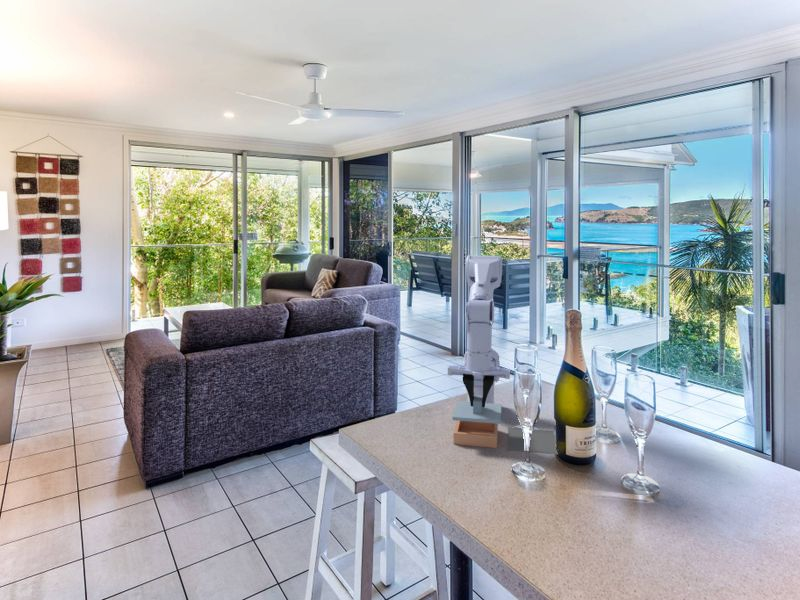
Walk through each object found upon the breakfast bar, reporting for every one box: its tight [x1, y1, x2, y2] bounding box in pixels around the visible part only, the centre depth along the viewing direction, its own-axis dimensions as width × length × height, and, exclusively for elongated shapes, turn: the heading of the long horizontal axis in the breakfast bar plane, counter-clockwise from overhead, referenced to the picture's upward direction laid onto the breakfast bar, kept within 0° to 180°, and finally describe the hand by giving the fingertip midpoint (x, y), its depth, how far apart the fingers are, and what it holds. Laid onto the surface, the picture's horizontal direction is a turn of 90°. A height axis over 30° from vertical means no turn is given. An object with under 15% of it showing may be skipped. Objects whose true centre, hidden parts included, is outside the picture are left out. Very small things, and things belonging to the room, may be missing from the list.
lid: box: [452, 395, 502, 425], centre depth 118 cm, size 11×11×4 cm
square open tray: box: [452, 421, 499, 449], centre depth 119 cm, size 10×10×4 cm
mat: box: [507, 426, 559, 455], centre depth 118 cm, size 13×11×1 cm
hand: (477, 405), depth 118 cm, fingers closed on lid, 2 cm apart
